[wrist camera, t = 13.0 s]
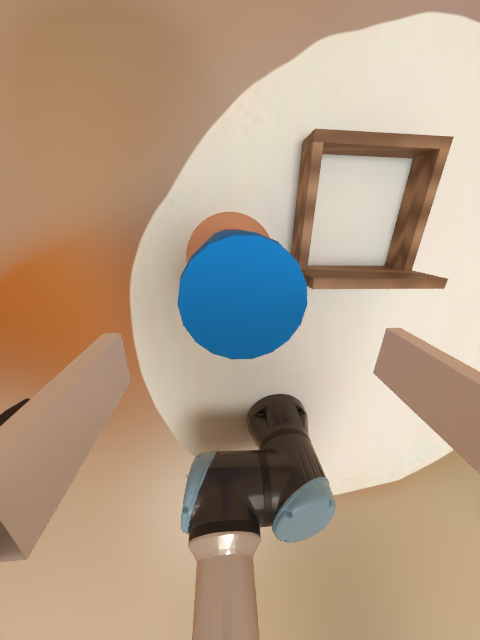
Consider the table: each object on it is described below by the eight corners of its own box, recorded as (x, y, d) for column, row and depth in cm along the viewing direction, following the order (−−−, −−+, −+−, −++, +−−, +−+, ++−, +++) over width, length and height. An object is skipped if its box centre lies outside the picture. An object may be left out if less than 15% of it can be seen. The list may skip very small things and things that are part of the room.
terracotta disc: (269, 300, 45) (270, 301, 45) (190, 300, 44) (189, 302, 43) (276, 213, 39) (277, 213, 38) (184, 211, 38) (183, 210, 37)
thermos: (252, 293, 44) (288, 368, 21) (197, 284, 42) (170, 353, 19) (266, 235, 40) (328, 247, 17) (205, 222, 38) (183, 216, 15)
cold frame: (389, 273, 45) (444, 288, 34) (289, 273, 44) (312, 288, 33) (424, 147, 37) (510, 114, 26) (302, 141, 36) (339, 103, 25)
